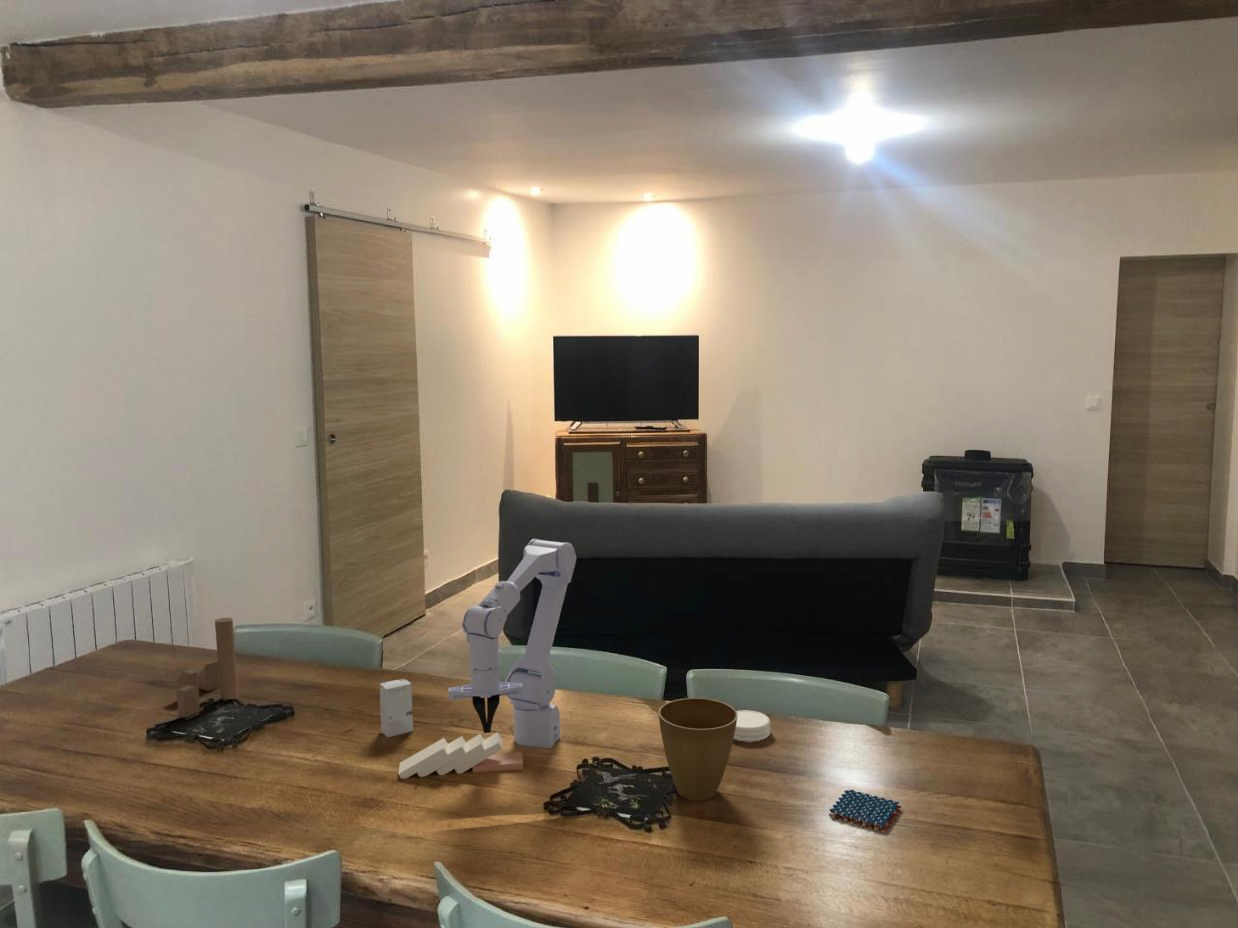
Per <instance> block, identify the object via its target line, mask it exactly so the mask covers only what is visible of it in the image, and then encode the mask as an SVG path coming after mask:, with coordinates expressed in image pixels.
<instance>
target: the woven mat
mask: <svg viewBox="0 0 1238 928" xmlns="http://www.w3.org/2000/svg"><path fill="white" fill-rule="evenodd" d="M843 792H844V793H842V794H841V797H838V800H836V801H835V804H833V805H832V807H831V808H829V812H830V813H829V814H828V816H829V817H830V819H837V818H838V821H842V820H843V822H844V823H847V822H849V823H850V824H852V825H853V824H855V823H856V824H855V826H856V827H860V826H861V827H863V828H868V829H874V831H877V830H878V831H879V829H881V831H880V832H882V833H885V832H886V831H887V830H888V828H890V827H891V824H892V823H893V820H894V819H895V817H897V816H898V813H899V812H900V810H901V809H902V806H901V805H899V804H900V802H899V801H896V800H893V799H888V798H885V797H881V796H877V795H871V794H869V793H864V792H861V791H856V790H854V789H849V790H848V789H847V790H843Z"/></svg>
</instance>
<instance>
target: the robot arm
mask: <svg viewBox="0 0 1238 928" xmlns="http://www.w3.org/2000/svg"><path fill="white" fill-rule="evenodd" d="M522 556H523V557H522V559H521V561H520V562H519V564H518V565H517V566H516V568H515V569H514V571H513V572H512V574H511V575H510V576H509V577H508V579H507V580H506V581H505V580H501V581H498V582H497V583H496V584H495V585H494V587H493V588H492V589H491V590H490V592H489V593H488V594H487V595H485V597H484V598H483V600H482V601H481V602H480V603H478V605H473V606H471V607H469V608H468V609H467V610H466V612H465V613H464V615H463V621H462V622H461V627H462V630H463V632H464V634H465V635H466V642H467V643H468V645H469V666H470V667H469V671H470V684H465V685H461V686H454V687H448V692H447V693H448V701H455V700H458V699H471V701H472V702H471V703H472V706H473V708H474V710H475V711H476V714H477V715H478V717H479V720H480V723H481V726H482V730H483V734H491V731H492V724H493V719H494V717H495V714H496V711H497V709H498V707H499V705H500V697H501V696H506V697H507V698H508V699H509V700H510V701H509V702H510V704H511V705H512V706H513V730H514V731H513V733H514V735H513V736H514V738H513V739H514V742H515V743H516V745H520V746H523V747H530V748H531V747H533V748H534V747H535V748H536V747H537V748H546V749H552V747H554V745H555V744H556V742H558V740H559V739H560V738H561V729H560V728H561V725H560V710H559V707H558V705H554V704H551V702H552V701H553V699H554V697H555V693H556V680H557V679H556V678H557V672H556V670H555V669H554V667H553V666H552V665H551V663H550V662H549V660H550V659H549V658H550V655H551V651H552V647H553V644H554V640H555V635H556V631H557V629H558V628H557V627H558V623H559V620H560V616H561V611H562V607H563V604H564V601H565V596H566V592H567V588H568V585H569V583H572V577H573V574H574V569H575V567H576V562H577V554H576V551H575V548H574V546H573V544H572V543H570V542H568V541H567V542H561V541H552V540H551V541H550V540H543V539H538V538H533V539H531V540H530V541H529V542H528V543H527V544H526V546H525V547H524V549H523V555H522ZM534 578H536V579H538V580H539V581H540V583H541V585H542V586H541V587H542V588H541V591H540V596H539V599H538V601H537V606H536V609H535V613H534V618H533V623H532V625H531V629H530V632H529V636H528V641H527V645H526V648H525V653H524V655H523V656H522V657H521V658H519V659H517V660H515V661H514V662H513V663H512V665H511V668H510V671H509V673H508V675H507V676H506V678H505V681H504V682H503V681H502V682H501V679H500V678H501V677H500V652H499V651H500V649H499V635H501V634H502V632H503V629H504V627H505V623H506V622H507V618H508V615H509V614H510V613H511V612H512V610H514V608H516V606H517V605H518V603H519V602H520V600H521V593H520V592H521V591H522V590H523V589H524V588H525V587H527V585H528V584H530V582H531V581H532V580H534ZM532 672H533V673H532ZM486 704H487V705H486ZM486 707H487V711H486ZM486 712H487V713H486Z"/></svg>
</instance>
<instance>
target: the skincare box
mask: <svg viewBox="0 0 1238 928" xmlns="http://www.w3.org/2000/svg"><path fill="white" fill-rule="evenodd" d="M412 686H413V685H412V683H411V682H410V680H409V681H408V680H407V679H406V678H401V679H395V680H390V681H389V680H388V681H387V682H386V681H385V682H381V683H379V702H380V703H379V705H380V708H379V709H380V727H381V728H380V729H381V734H383V735H384V736H385V737H387V738H390V737H391V738H392V737H395V736H399V735H403V734H407V733H410V732H413V731H414V720H413V719H414V718H413V716H414V715H413V688H412Z"/></svg>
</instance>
